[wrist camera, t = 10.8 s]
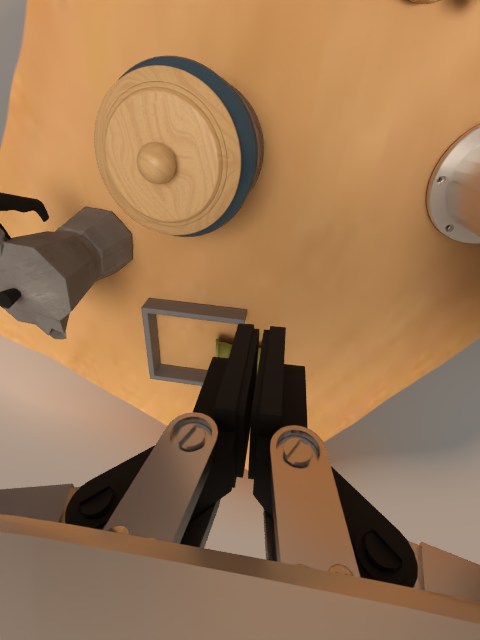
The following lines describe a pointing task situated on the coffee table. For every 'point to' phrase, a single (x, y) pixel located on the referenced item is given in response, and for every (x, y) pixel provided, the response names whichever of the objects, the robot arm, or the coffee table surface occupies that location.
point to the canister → (177, 146)
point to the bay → (186, 311)
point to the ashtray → (424, 1)
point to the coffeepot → (58, 263)
